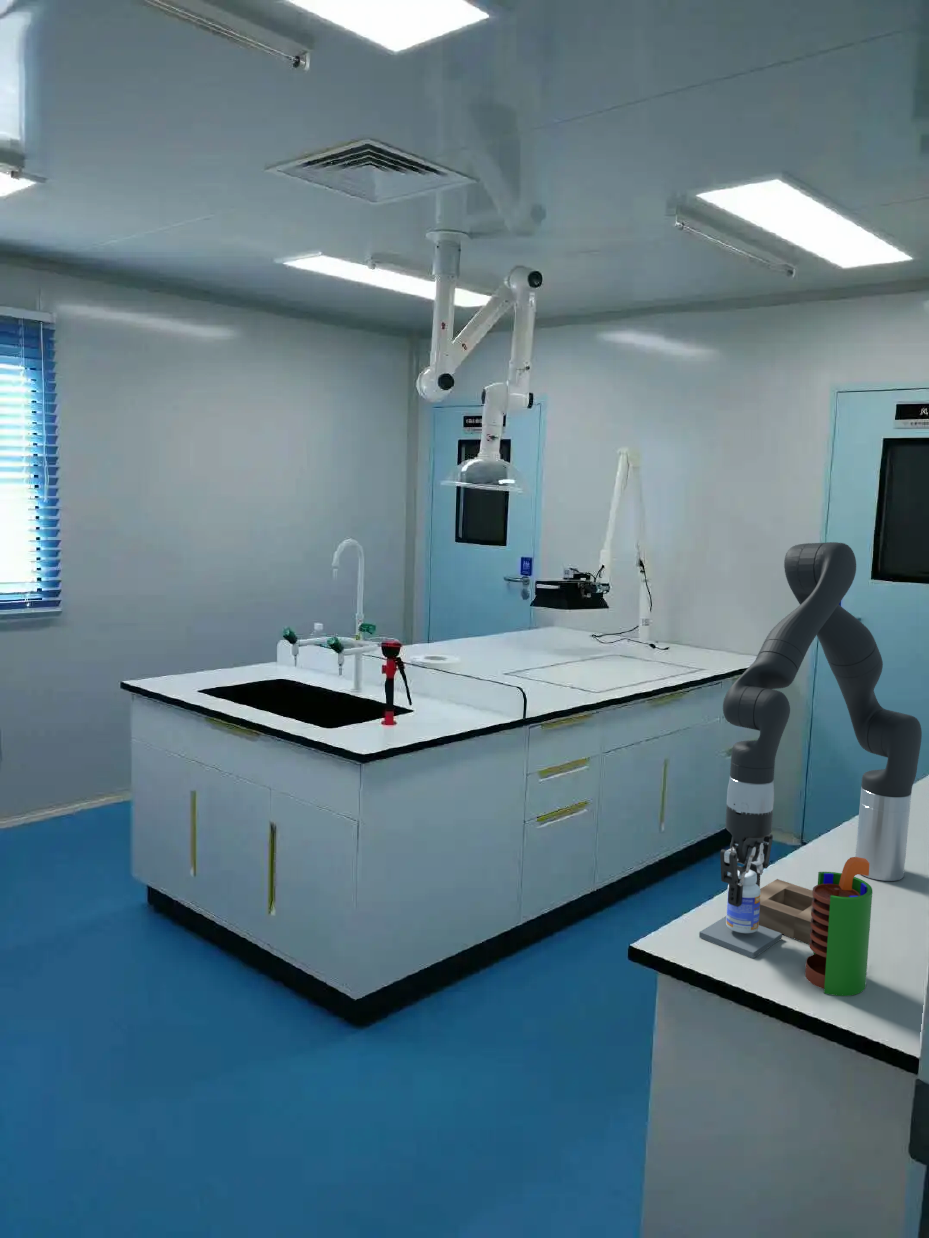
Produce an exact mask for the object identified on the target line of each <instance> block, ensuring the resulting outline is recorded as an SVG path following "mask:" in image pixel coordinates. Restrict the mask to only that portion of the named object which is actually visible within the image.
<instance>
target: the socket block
mask: <svg viewBox="0 0 929 1238" xmlns="http://www.w3.org/2000/svg"><path fill="white" fill-rule="evenodd" d="M812 891H813V889H809V888H806V887H803V886H800V885H797V884H793V883H791V882H789V881H784V880H782V879H778V878H776V879H775V880H773V881H771V882H768V884H766V885H763V886H762V887H760V911H759V925H760V926H763V927H766V928H768V929H771V930H774V931H777V932H779V933H782V934H784V935H783V936H785V937H788V938H792V939H793V938H795V939H794V940H796V939H797V940H796V941H800V942H801V943H805V944H808V945H809V940H810V938H811V937H810V929H811V925H810V923H811V918H812V916H811V909H812V908H813V906H812V898H813V897H814V896H813V895H812Z"/></svg>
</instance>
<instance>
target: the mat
mask: <svg viewBox="0 0 929 1238" xmlns="http://www.w3.org/2000/svg"><path fill="white" fill-rule="evenodd" d="M698 935H699V936H698V937H699V939H702V940H705V941H707V942H710V943H713V944H715V945H718V946H719V947H720V946H721V947H723V948H725V949H727V950H731V951H733V952H736V953H738V954H740V955H744V956H746V957H749V958H751V959H754V958H757V956H759V955H760V954H761V953H763V952H765V951H766V950H768V949H769V948H770V946H771V947H772V946H773V945H775V944H776V943H778V942H779V941H781V940H782V939H781V938H782V937H783V936H782V933H779V932H777V931H774V930H771V929H768V928H766V927H763V926H760V925H759V926H758V930H757V931H755V932H753V933H740V932H736V931H733V930H731V929H730V928H728V927H727V925H726V916H724V917H722V918H721V919H719V920H717V921H716V922H714V923H712V924H710V925H709V926H707V927H706V928H704V929H702V930H701V931H699V933H698ZM780 939H781V940H780Z"/></svg>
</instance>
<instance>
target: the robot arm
mask: <svg viewBox="0 0 929 1238" xmlns="http://www.w3.org/2000/svg"><path fill="white" fill-rule="evenodd" d="M783 567H784V574H785V578H786V581H787V583H788V585H789V588H790V590H791V592H792V593H793V595H794V596H795V597H794V598H795V599H796V600H797V602H798V604H799V606H797V607H796V608H795V609H794V610H793V611H791V612H790V613H789V614H787V615H786V616H785V617H784V618H782V619H781V620H780V621H778V623H777V624H775V626H774V627H773V628H771V630H770V631H769V633H768V635H767V636H766V638H765V639H764V641H763V643H762V645H761V647H760V649H759V651H758V654H757V655H756V657H755V660H754V662H752V664H750V665H749V666H748V667H747V668H746V670H745V671H744V672H743V673H742V674H741V675H740V676H739V677H738V678H737V679H736V680H735V681H734V682H733V683H732V685H731V686H730V687H729V689H728V690H727V692H726V694H725V697H724V698H723V702H722V713H723V716H724V718H725V720H726V721H727V723H729V724H730V725H733V726H736V727H740V728H745V729H749V730H755V731H759V736H758V738H757V740H750V739H749V740H741V741H737V742H736V743H734V744H733V746H732V748H731V753H730V754H731V755H730V765H729V767H730V768H729V769H730V770H729V781H728V784H727V790H726V791H727V792H726V809H725V823H724V826H725V830H727V831H728V832H729V833H730V834H731V842H730V844H729V848H728V849H724V848H722V849H721V850H720V852H719V857H720V859H719V861H720V877H721V878H720V879H721V880H720V881H721V882H722V883H725V884H728V885H729V892H728V891H727V894H728V903H729V904H731V905H734V906H736V907H739V906H741V905H742V894H743V881H744V877H745V874H746V873H748V872H749V869H750V870H752V871H754V872H756V873H757V882H756V883H755V884H757V885H758V886H759V887H760V888H761V876H762V875H763V873H764V869H768V867H769V864H770V857H771V851H772V850H771V849H772V845H773V838H774V837H773V836H774V835H773V834H772V829H773V819H774V818H773V817H774V803H775V787H774V786H775V785H774V782H775V781H774V780H775V766H776V765H775V764H776V758H777V752H778V749H779V745H780V743H781V739H782V736H783V734H784V731H785V729H786V726H787V724H788V721H789V720H790V719H789V718H790V715H791V705H790V702H789V699H788V697H787V695H785V694H784V692H782V691H779V690H778V689H784V688H787V687H789V686H790V685H792V683H793V682H794V681H795V678H796V676H797V674H798V672H799V670H800V667H801V665H802V664H803V662H804V659H805V656H806V655H807V652H808V651H809V649H810V646H811V645H812V644H813V641H814V640H815V638H816V637H817V639H818V641H819V643H820V646H821V648H822V650H823V655H824V656H825V658H826V660H827V663H828V665H829V667H830V669H831V672H832V673H833V675H834V678H835V680H836V682H837V685H838V687H839V690H840V693H841V696H842V697H843V699H844V702H845V704H846V708H847V711H848V715H849V717H850V718H849V719H850V721H851V726H852V727H853V732H854V735H855V737H856V740H857V742H858V744H859V746H860V747H861V748H862V749H864V751H867V752H868V753H871V754H872V755H873V754H874V755H877V756H881V757H883V758H887V762H886V766H885V768H881V769H871V770H867V771H865V772H864V773H863V774H862V778H861V787H860V796H859V797H860V798H859V809H858V810H859V812H858V819H857V820H858V821H857V834H856V845H855V846H856V847H855V856H854V857H859V858H864V859H866V860H867V861H868V862H869V863H870V864H869V876H866V875H862V876H864V877H866V878H869V879H873V880H878V881H885V882H893V881H899V880H901V879H903V878H904V876H905V865H906V859H907V858H906V857H907V844H908V834H909V824H910V813H911V804H912V803H911V802H912V801H911V800H912V791H913V787H914V783H915V781H916V777H917V772H918V771H917V770H918V763H919V757H920V752H921V745H922V737H923V736H922V725H921V722H920V721H919V719H918V718H917V717H915V716H913V715H911V714H907V713H903V712H898V711H894V710H889V709H885V708H884V707H882V705H881V704H880V702H879V701H878V699H877V697H876V694H875V688H876V686H877V684H878V683H879V680H880V677H881V676H882V675H881V674H882V672H883V665H884V663H883V659H882V654H881V652H880V649H879V646H878V645H877V642H876V639H875V637H874V636H873V634H872V632H871V631H870V629H869V628H868V627H867V626H866V625H864V623H862V622H861V621H860V620H859V619H858V618H857V617H855V616H854V615H852V614H851V613H850V612H849V611H848V610H847V609H845V608H844V607H842V606H841V605H840V603H841V602H842V600H843V599H844V597H845V596H846V594H847V593H848V591H849V590H850V588H851V587H852V585H853V582H854V580H855V576H856V574H857V559H856V555H855V553H854V550H853V549H852V548H851V547H850V545H848V544H846V543H844V542H837V541H836V542H835V541H832V542H811V543H810V542H808V543H799V544H794V545H793V546H792V547H790V548H789V549H788V550H787V551H786V553H785V556H784V563H783ZM738 864H741V865H743V866H741V865H738ZM738 871H739V872H740V873H739V877H738Z"/></svg>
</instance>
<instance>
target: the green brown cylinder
mask: <svg viewBox="0 0 929 1238" xmlns="http://www.w3.org/2000/svg"><path fill="white" fill-rule="evenodd" d="M869 864H870V863H869V862H868V861H867V860H866V859H864V858H859V857H855V856H852V857H849V858H848V859H847V860H846V861H845V863H844V865H843V868H842V871H841V872H836V871H835V872H834V871H818V872H817V873H818V874H817V884H816V885H815V886H813V887H812V890H813V891H812V895H813V896H814V897H813V898H812V906H813V908H812V909H811V916H812V918H811V923H810V925H811V929H810V937H811V938H810V940H809V944H808V945H809V946H808V947H809V949H810V950H811V951H812V954H811V955H809V956H807V958H806V959H805V966H804V967H805V969H804V970H805V971H804V975H805V978H806V980H807V981H808V982H809V983H810V984H812V985H813V986H815V987H817V988H820V989H822V990H823V993H824V994H827V995H829V996H830V995H831V996H836V997H837V996H838V997H849V996H850V997H851V996H856V995H858V994H861V993H862V992H863V991H864V990H865V989H866V983H867V969H868V959H869V957H868V956H869V944H870V943H869V942H870V932H871V931H870V929H871V928H870V927H871V916H872V905H873V904H872V902H873V888H872V886H871V885H870V884H869V883H868V882H867V881H865V880H863V879H861V878H858V877H856V876H857V875H861V876H863V875H866V876H869ZM866 876H865V877H866Z"/></svg>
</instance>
